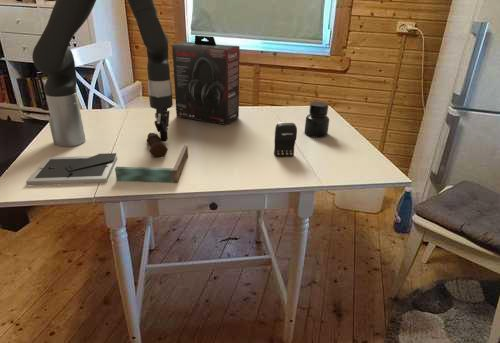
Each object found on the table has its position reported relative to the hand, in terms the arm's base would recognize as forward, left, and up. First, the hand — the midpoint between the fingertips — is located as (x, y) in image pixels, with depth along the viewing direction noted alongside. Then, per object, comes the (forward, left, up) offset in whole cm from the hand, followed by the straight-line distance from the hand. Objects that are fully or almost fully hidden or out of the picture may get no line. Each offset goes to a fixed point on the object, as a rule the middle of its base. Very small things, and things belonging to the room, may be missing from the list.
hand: (164, 141), depth 128 cm
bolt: (-1, -6, -1) cm, 6 cm away
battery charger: (+42, -8, -1) cm, 43 cm away
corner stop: (+2, -20, -1) cm, 20 cm away
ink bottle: (+56, +14, -1) cm, 58 cm away
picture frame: (-21, -24, -2) cm, 32 cm away
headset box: (+12, +30, -1) cm, 32 cm away
